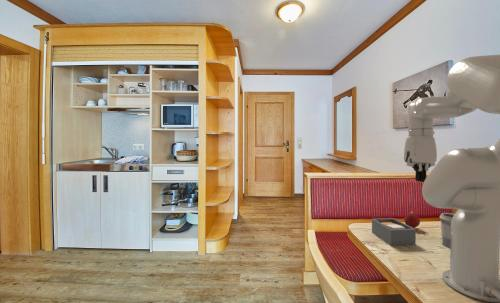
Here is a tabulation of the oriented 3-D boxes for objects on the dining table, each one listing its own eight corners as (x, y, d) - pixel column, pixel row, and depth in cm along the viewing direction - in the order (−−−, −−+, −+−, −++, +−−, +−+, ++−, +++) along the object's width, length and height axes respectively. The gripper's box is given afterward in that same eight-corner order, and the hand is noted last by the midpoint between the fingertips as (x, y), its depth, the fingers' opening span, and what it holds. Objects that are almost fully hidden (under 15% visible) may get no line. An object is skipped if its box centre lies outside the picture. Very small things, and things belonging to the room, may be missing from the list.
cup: (467, 251, 81) (468, 219, 80) (446, 249, 82) (447, 218, 81) (453, 242, 88) (454, 212, 87) (434, 241, 89) (435, 212, 88)
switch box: (415, 244, 86) (415, 229, 86) (390, 245, 86) (390, 230, 86) (393, 231, 99) (393, 218, 98) (371, 232, 98) (371, 218, 98)
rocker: (405, 230, 88) (404, 226, 88) (393, 230, 88) (392, 227, 88) (391, 225, 96) (391, 222, 96) (380, 225, 96) (380, 222, 96)
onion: (414, 232, 98) (415, 214, 98) (401, 227, 103) (401, 210, 103) (422, 229, 100) (422, 212, 100) (408, 225, 106) (409, 209, 105)
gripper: (430, 134, 89) (430, 179, 89) (395, 134, 88) (395, 180, 88) (447, 133, 82) (448, 182, 82) (409, 133, 81) (410, 183, 81)
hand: (420, 181), depth 85 cm, fingers closed
